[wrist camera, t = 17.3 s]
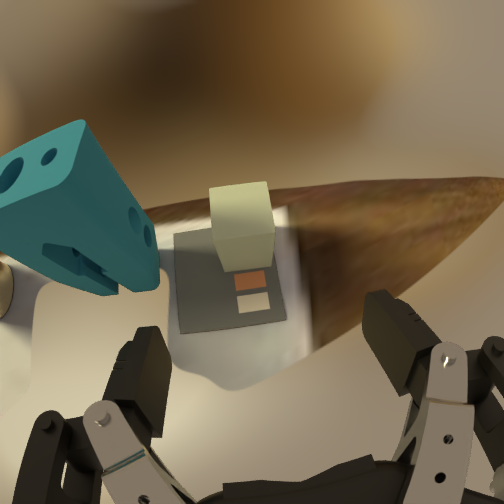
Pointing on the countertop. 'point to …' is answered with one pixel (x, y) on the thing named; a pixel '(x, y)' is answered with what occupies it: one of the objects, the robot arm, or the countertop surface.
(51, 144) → the block
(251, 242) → the sage block
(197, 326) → the marker mat
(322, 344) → the countertop surface
